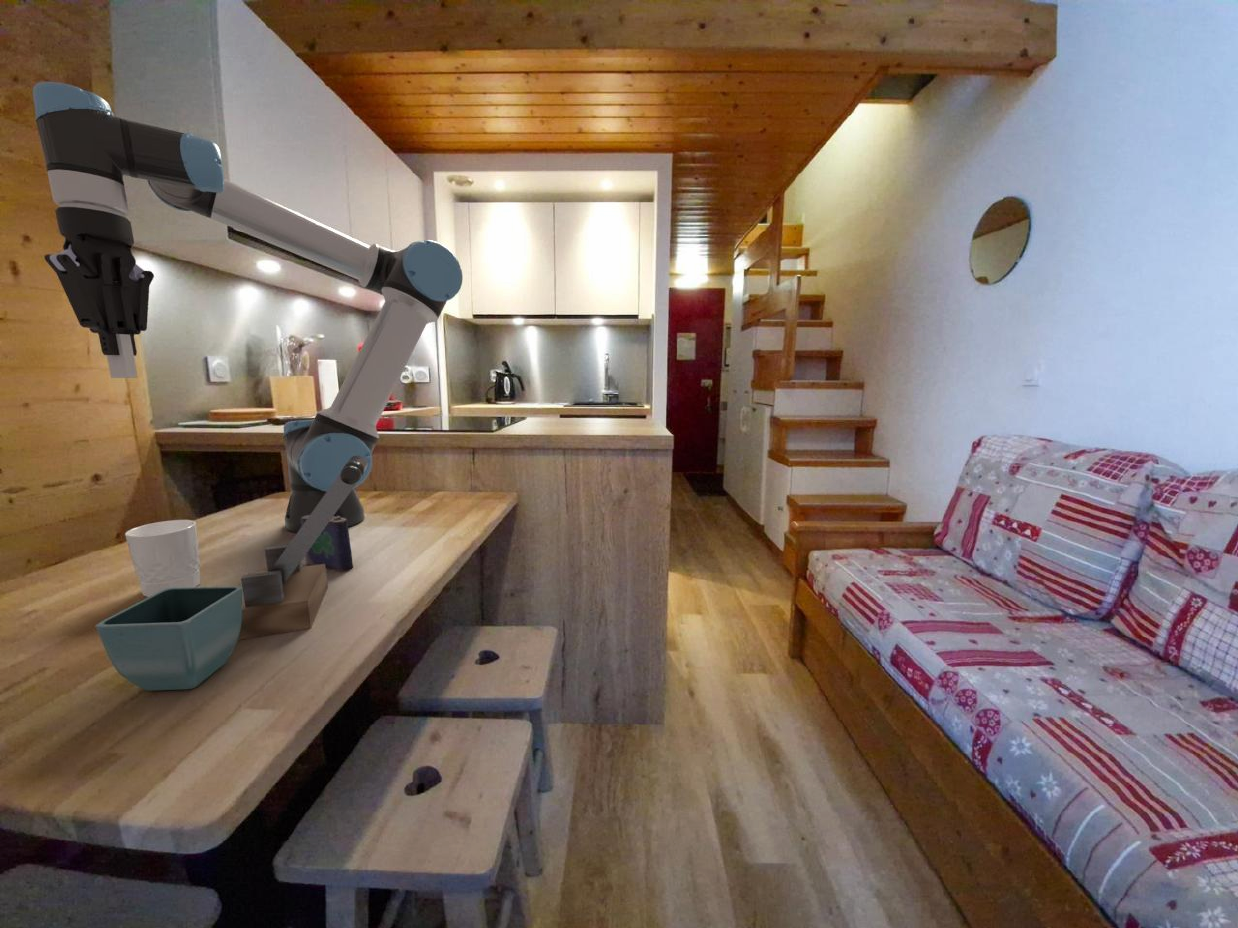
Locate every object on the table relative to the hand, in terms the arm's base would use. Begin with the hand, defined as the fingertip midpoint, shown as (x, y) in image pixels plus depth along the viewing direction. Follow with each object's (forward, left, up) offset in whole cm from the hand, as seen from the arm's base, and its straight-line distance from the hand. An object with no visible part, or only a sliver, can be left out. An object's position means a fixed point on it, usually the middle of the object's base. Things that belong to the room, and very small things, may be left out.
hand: (124, 377), depth 74 cm
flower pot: (+25, +29, -33) cm, 51 cm away
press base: (+11, +29, -32) cm, 45 cm away
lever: (+11, +29, -27) cm, 41 cm away
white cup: (+5, +7, -33) cm, 34 cm away
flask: (-5, +26, -33) cm, 42 cm away
